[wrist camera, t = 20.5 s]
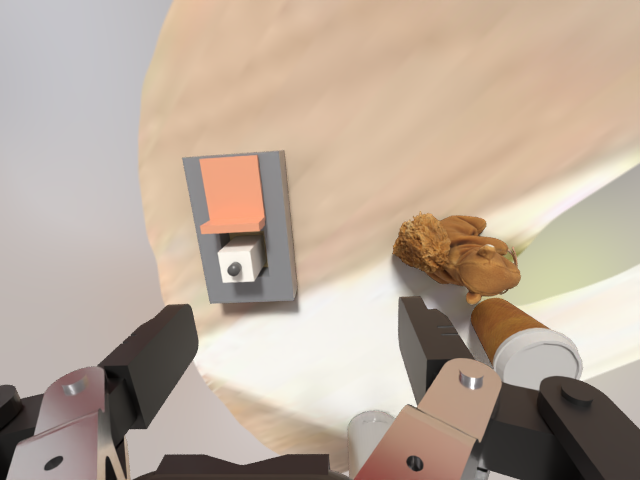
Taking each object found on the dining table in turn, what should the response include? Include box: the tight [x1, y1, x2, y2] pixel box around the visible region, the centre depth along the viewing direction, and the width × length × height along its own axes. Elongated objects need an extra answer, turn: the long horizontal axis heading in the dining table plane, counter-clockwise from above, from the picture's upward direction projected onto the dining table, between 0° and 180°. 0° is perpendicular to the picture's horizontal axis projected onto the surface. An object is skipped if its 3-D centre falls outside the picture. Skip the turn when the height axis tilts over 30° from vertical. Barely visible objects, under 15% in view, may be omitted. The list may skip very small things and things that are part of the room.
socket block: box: [182, 150, 297, 304], centre depth 43 cm, size 20×12×4 cm, turn 4°
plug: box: [218, 235, 266, 283], centre depth 41 cm, size 4×4×8 cm
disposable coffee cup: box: [471, 298, 583, 390], centre depth 41 cm, size 10×10×12 cm
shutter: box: [199, 155, 266, 234], centre depth 37 cm, size 8×7×4 cm
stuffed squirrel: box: [392, 211, 521, 305], centre depth 38 cm, size 10×14×13 cm
